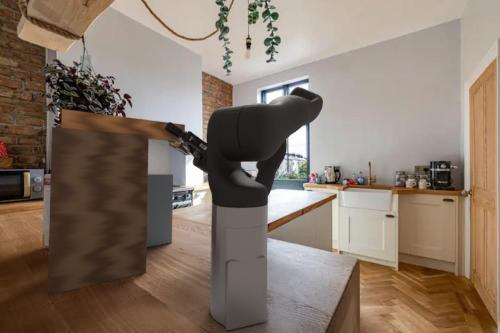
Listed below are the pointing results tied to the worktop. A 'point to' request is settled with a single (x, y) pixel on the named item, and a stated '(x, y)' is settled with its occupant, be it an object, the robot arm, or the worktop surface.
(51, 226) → the walnut pedestal
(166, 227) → the slate pedestal
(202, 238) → the worktop surface
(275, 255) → the worktop surface
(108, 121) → the brown bar
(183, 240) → the worktop surface
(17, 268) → the worktop surface
